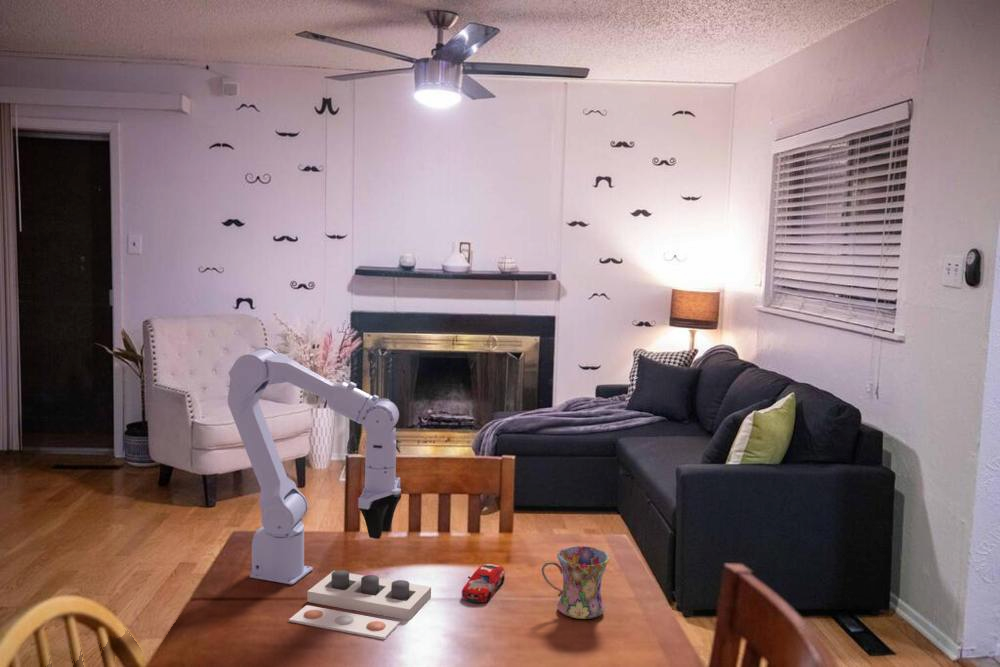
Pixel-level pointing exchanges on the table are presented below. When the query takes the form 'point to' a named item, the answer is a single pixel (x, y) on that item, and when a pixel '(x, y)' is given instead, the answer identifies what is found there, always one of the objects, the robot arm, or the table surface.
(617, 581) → the table surface
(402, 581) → the button outer
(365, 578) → the button middle
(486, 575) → the race car
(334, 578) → the button inner
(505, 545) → the table surface
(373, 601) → the button board
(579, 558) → the mug
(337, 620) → the pattern card
